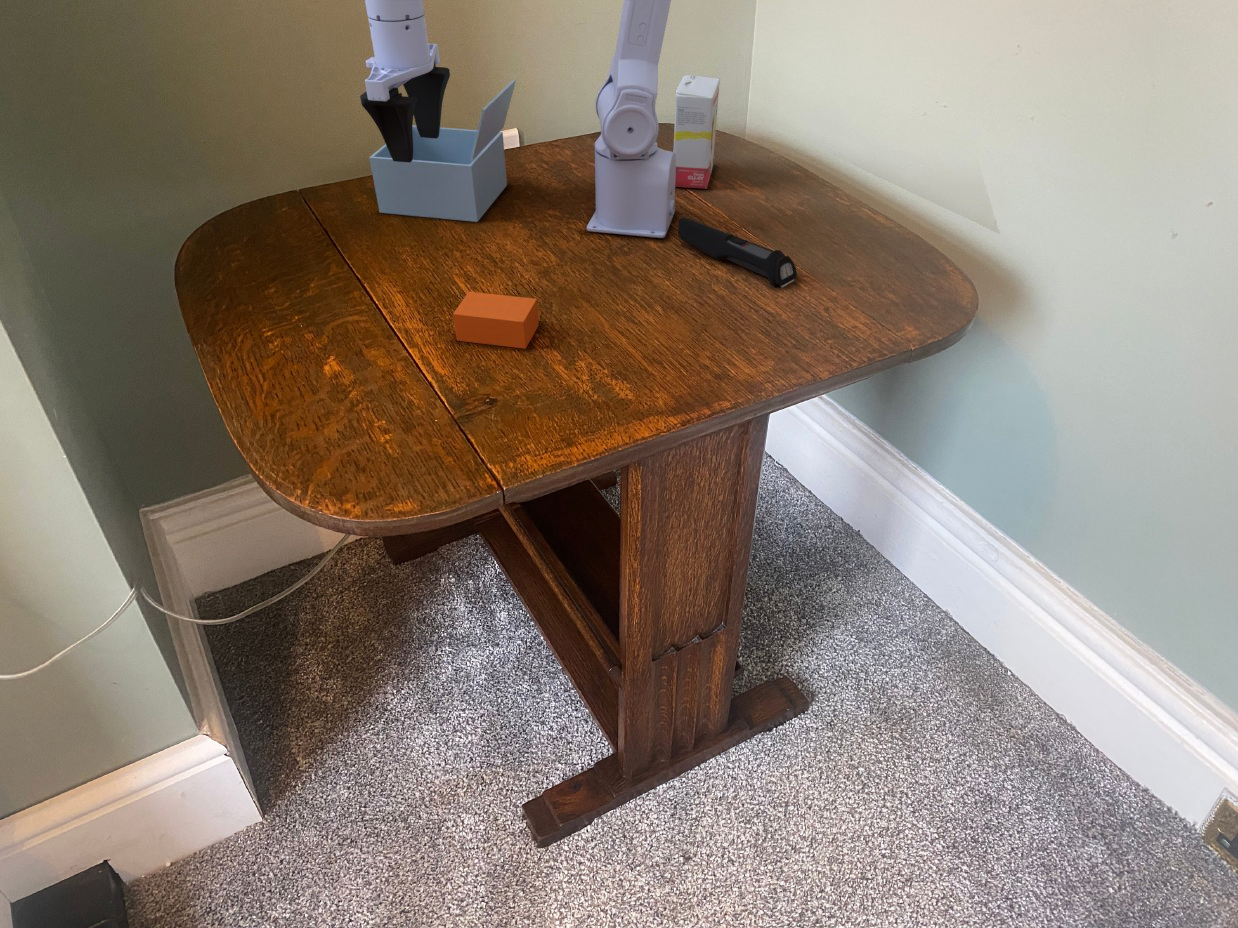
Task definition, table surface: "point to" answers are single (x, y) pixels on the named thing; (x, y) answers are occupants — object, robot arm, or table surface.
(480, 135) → the panel
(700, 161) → the ink box
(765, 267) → the electric trimmer
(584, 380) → the table surface
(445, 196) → the grey box
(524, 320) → the packet
